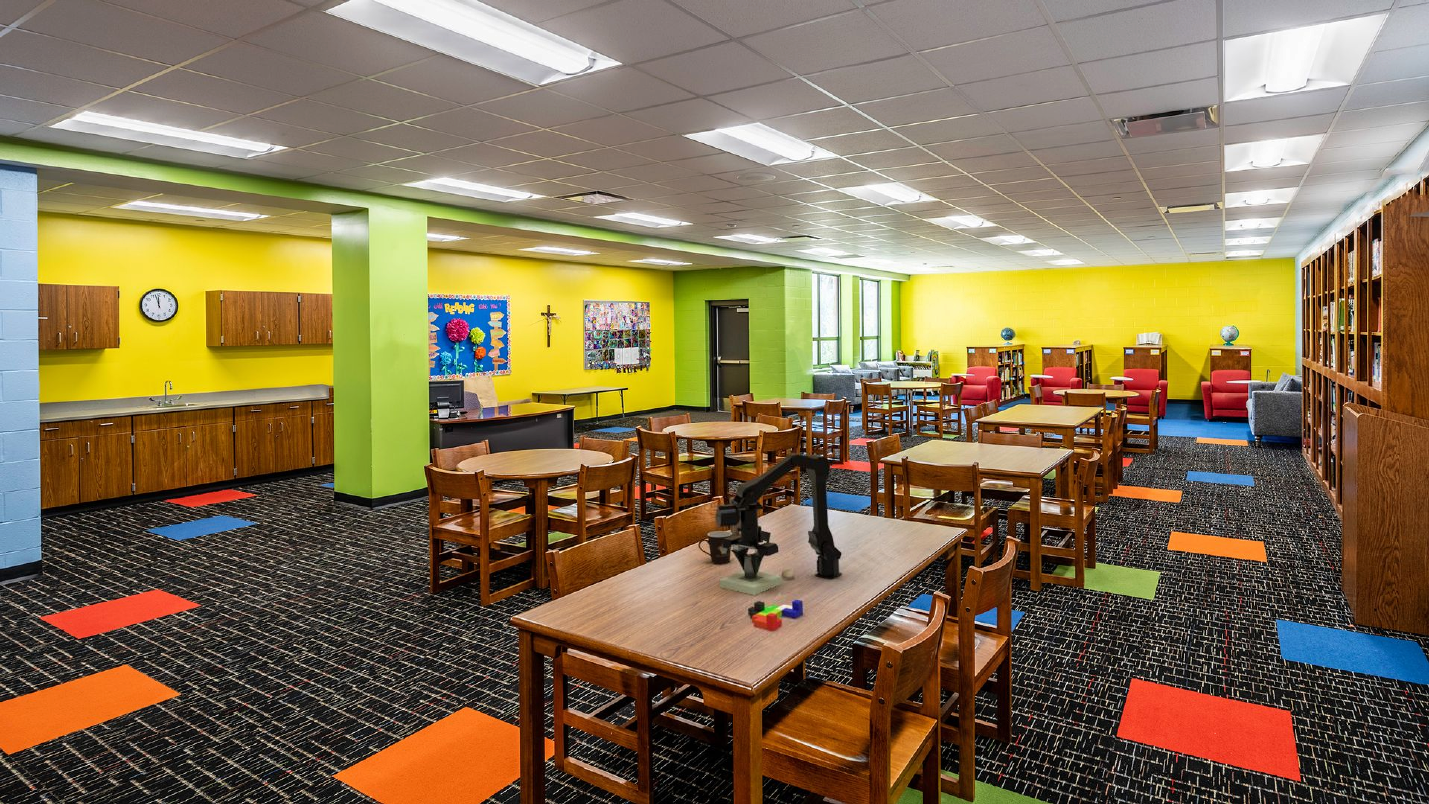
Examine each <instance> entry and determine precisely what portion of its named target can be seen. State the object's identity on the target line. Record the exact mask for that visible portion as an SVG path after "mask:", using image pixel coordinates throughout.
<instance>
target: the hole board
mask: <svg viewBox="0 0 1429 804" xmlns="http://www.w3.org/2000/svg"><path fill="white" fill-rule="evenodd" d="M782 584H783V579H782V575H777V574H772V573H768V572H764V571H759V570H758V573H757V578H755V579H746V578H745V576H744V570H742V571H739V572H736V573H734V574H731V575H728V576H726V577H723V578H720V579H719V588H721V589H725V588H726V589H725V590H729V591H733V592H737V591H739V592H738V593H742V592H743V593H742V594H746V593H747V594H746V595H750V594H752V595H751V596H754V595H755V596H756V594H757V595H759V594H762V593H764V592H766V590H767V591H769V590H771V589H773V588H776V587H778V586H781V585H782ZM777 585H778V586H777ZM775 586H776V587H775ZM770 588H771V589H770ZM768 589H769V590H768ZM763 591H764V592H763ZM761 592H762V593H761Z"/></svg>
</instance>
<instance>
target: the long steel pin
mask: <svg viewBox="0 0 1429 804" xmlns="http://www.w3.org/2000/svg"><path fill="white" fill-rule="evenodd" d="M751 554H752V553H747V554H745V555H744V570H743V571H744V576H745V578H746V579H755V578H757V574H755V573H754V570H753V564H752V559H751Z"/></svg>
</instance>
